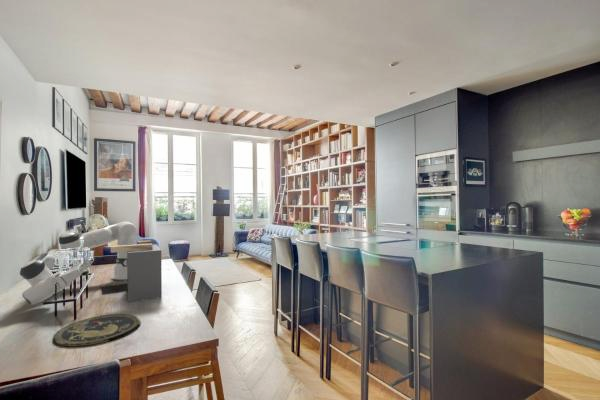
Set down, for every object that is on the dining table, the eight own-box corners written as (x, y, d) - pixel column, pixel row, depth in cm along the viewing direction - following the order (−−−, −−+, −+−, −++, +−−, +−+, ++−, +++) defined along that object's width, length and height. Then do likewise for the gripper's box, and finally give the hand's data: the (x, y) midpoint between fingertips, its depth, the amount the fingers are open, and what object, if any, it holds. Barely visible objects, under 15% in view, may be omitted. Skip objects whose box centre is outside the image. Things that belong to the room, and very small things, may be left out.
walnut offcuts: (135, 248, 180) (135, 241, 180) (151, 246, 184) (151, 240, 184) (135, 249, 175) (135, 242, 175) (152, 248, 179) (152, 241, 179)
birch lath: (110, 251, 167) (110, 246, 167) (151, 248, 177) (151, 243, 177) (110, 252, 164) (110, 247, 164) (152, 249, 174) (152, 244, 174)
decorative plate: (72, 317, 137) (146, 310, 146) (72, 322, 137) (146, 314, 146) (36, 349, 109) (131, 337, 117) (36, 354, 109) (131, 342, 117)
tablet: (148, 280, 209) (153, 286, 192) (148, 281, 209) (153, 287, 192) (100, 286, 193) (102, 294, 177) (100, 288, 193) (102, 295, 177)
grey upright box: (127, 289, 187) (127, 246, 188) (156, 285, 195) (156, 244, 196) (128, 302, 163) (128, 252, 163) (161, 297, 171) (161, 250, 171)
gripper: (69, 279, 165) (96, 264, 171) (63, 289, 147) (93, 271, 153) (61, 270, 163) (89, 254, 169) (54, 278, 145) (85, 260, 151)
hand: (91, 262), depth 161 cm, fingers open, 8 cm apart
